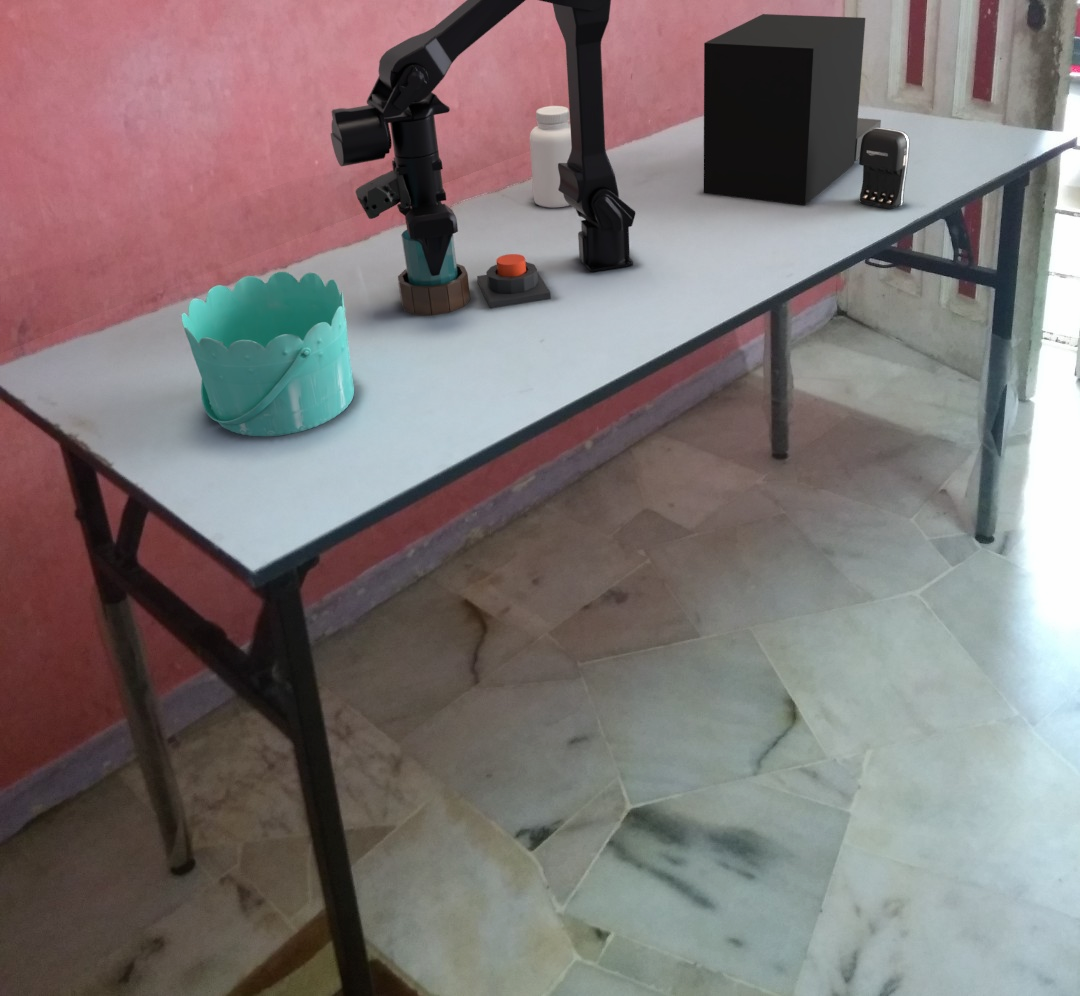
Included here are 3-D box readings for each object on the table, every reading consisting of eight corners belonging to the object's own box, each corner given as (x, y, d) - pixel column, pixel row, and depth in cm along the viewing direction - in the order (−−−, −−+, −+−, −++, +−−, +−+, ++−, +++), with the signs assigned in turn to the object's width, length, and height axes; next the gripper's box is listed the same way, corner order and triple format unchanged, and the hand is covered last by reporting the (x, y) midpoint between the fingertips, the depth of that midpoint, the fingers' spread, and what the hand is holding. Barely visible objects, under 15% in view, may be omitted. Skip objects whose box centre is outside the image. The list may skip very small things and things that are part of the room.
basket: (376, 420, 131) (358, 316, 124) (215, 457, 127) (187, 352, 120) (343, 355, 147) (325, 260, 140) (199, 386, 142) (173, 289, 135)
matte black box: (878, 144, 205) (891, 3, 192) (806, 205, 181) (814, 48, 168) (784, 136, 214) (790, 0, 201) (703, 193, 190) (704, 43, 177)
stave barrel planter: (463, 284, 164) (460, 257, 162) (474, 308, 156) (471, 281, 154) (398, 294, 163) (394, 267, 160) (406, 319, 155) (402, 292, 153)
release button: (495, 270, 161) (493, 256, 160) (522, 266, 161) (521, 252, 160) (500, 280, 157) (499, 266, 156) (529, 276, 158) (527, 262, 157)
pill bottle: (577, 208, 188) (572, 115, 180) (529, 208, 190) (522, 116, 181) (585, 193, 194) (580, 102, 186) (539, 193, 196) (532, 103, 188)
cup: (455, 288, 163) (447, 220, 157) (463, 306, 157) (455, 236, 152) (408, 296, 162) (398, 228, 156) (415, 314, 156) (405, 244, 151)
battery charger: (852, 204, 180) (858, 130, 174) (865, 197, 182) (871, 124, 176) (892, 212, 176) (899, 137, 170) (905, 205, 178) (912, 131, 172)
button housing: (477, 282, 164) (475, 262, 163) (535, 273, 165) (533, 253, 164) (490, 308, 156) (488, 288, 154) (551, 299, 157) (549, 278, 156)
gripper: (348, 141, 155) (366, 251, 163) (361, 181, 139) (380, 300, 148) (429, 130, 156) (443, 240, 165) (451, 168, 141) (465, 287, 149)
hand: (431, 265), depth 157 cm, fingers closed on cup, 7 cm apart
